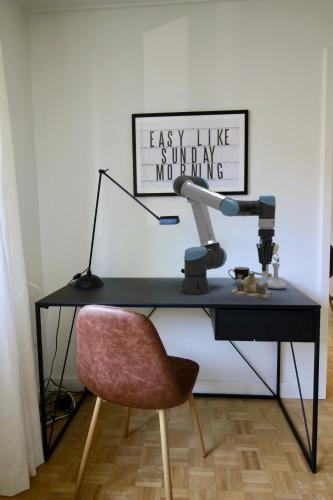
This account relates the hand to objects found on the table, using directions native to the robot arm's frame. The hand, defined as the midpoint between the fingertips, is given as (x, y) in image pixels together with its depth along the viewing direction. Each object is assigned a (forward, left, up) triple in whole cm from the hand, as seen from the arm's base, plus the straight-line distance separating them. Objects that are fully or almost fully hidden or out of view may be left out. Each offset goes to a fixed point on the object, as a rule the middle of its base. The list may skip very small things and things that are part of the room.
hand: (264, 277), depth 156 cm
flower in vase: (-1, +25, -11) cm, 27 cm away
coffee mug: (-21, +24, -11) cm, 34 cm away
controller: (-50, +18, -11) cm, 55 cm away
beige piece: (-8, +6, -10) cm, 15 cm away
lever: (-4, +4, 0) cm, 5 cm away
